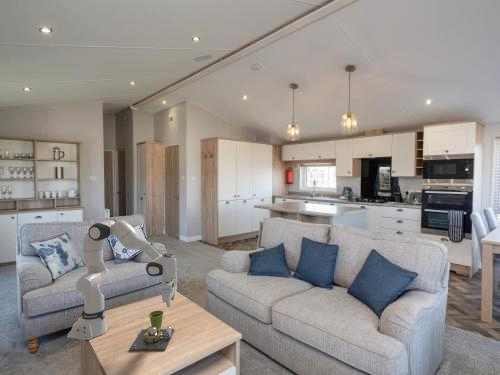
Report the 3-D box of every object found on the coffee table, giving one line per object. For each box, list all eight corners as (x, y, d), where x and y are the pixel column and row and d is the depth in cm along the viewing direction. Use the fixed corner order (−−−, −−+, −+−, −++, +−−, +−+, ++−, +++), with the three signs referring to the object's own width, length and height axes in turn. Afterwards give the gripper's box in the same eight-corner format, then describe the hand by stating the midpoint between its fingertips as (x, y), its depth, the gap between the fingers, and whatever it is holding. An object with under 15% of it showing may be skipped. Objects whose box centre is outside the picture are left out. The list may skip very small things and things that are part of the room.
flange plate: (129, 351, 163) (129, 337, 163) (142, 331, 183) (142, 320, 183) (165, 350, 163) (165, 337, 163) (174, 331, 183) (174, 319, 183)
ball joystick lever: (141, 342, 168) (141, 332, 168) (147, 333, 178) (147, 323, 178) (168, 342, 168) (168, 331, 168) (173, 332, 178) (173, 322, 178)
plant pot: (159, 331, 184) (159, 317, 183) (146, 329, 185) (145, 316, 185) (166, 323, 193) (166, 310, 192) (153, 322, 195) (153, 309, 194)
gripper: (169, 275, 187) (170, 296, 188) (159, 287, 167) (160, 311, 167) (179, 274, 187) (179, 295, 188) (170, 287, 167) (171, 310, 167)
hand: (170, 303), depth 177 cm, fingers open, 8 cm apart
